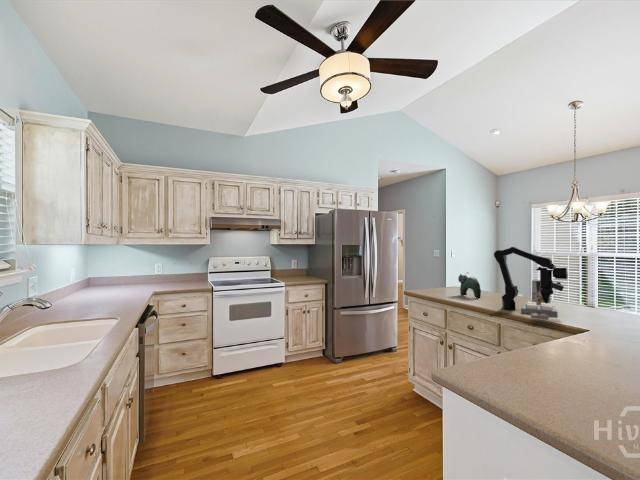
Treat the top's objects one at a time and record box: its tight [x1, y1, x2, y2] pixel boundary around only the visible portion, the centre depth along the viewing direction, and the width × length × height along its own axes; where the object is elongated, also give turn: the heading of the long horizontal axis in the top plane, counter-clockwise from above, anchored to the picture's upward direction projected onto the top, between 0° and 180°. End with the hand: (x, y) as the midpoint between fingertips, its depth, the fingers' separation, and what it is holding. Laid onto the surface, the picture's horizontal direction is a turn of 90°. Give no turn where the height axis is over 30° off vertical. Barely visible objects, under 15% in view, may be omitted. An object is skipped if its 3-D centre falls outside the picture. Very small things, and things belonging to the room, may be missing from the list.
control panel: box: [521, 303, 558, 318], centre depth 190 cm, size 17×17×3 cm
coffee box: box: [531, 279, 551, 305], centre depth 216 cm, size 9×6×16 cm
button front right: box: [540, 304, 553, 310], centre depth 184 cm, size 5×5×2 cm
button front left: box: [526, 303, 538, 309], centre depth 189 cm, size 5×5×2 cm
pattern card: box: [530, 313, 549, 320], centre depth 178 cm, size 8×8×1 cm
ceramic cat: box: [457, 271, 482, 299], centre depth 245 cm, size 20×6×20 cm, turn 17°
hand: (546, 303), depth 184 cm, fingers closed
